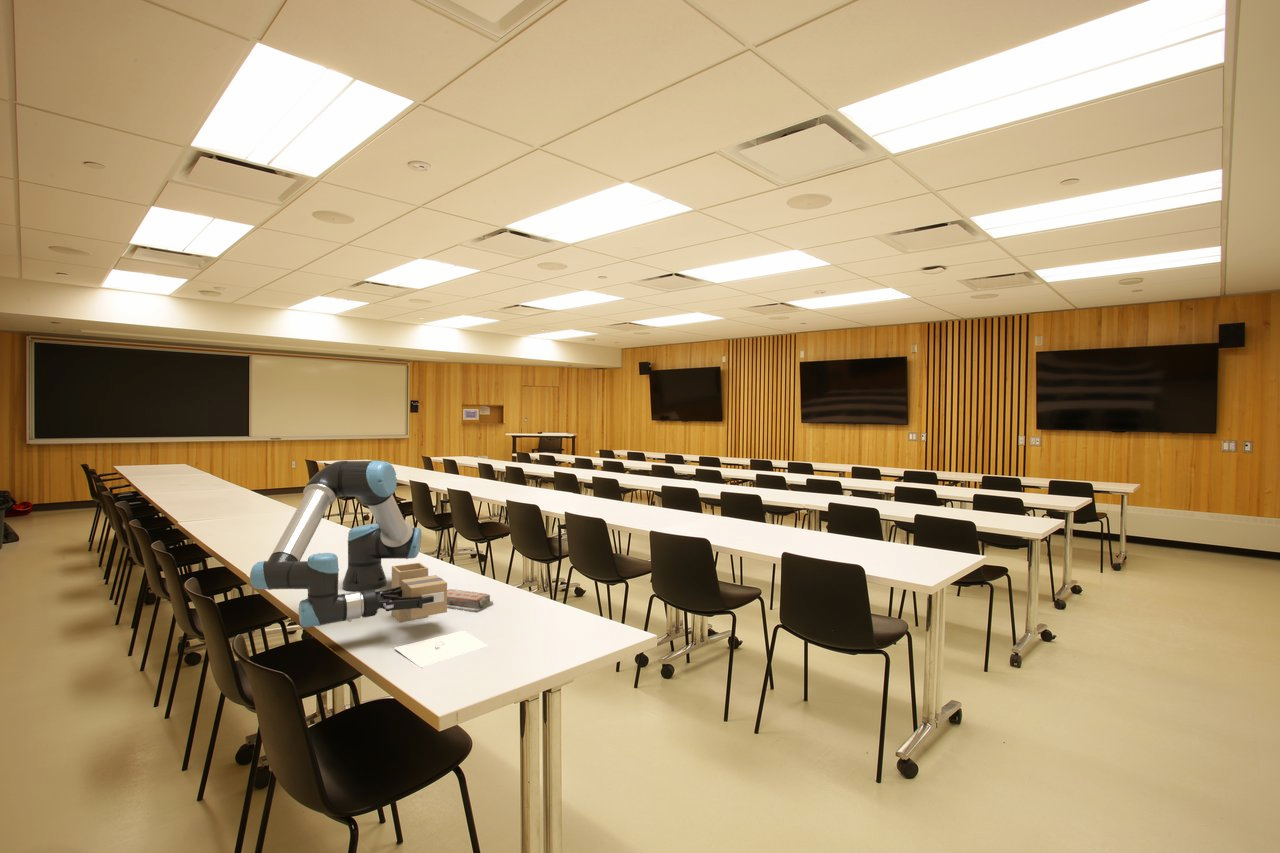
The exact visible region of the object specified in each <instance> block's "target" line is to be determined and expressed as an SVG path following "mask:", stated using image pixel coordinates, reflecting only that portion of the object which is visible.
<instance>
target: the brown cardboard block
mask: <svg viewBox="0 0 1280 853" xmlns="http://www.w3.org/2000/svg"><path fill="white" fill-rule="evenodd" d="M401 589H402V597H421V595H427V594H433V593H439V592H444V601H442V602H437V603H431V604H425V605H422V608H421V609H420V608H413V609H401V610H402V611H404V612H405V613H406V614H407V615H408V616H409V617H410V618H411V619H413V618H418V617H424V616H428V617H429V616H433V615H439V614H445V613H447V612H448V608H447V590H448V582H447V581H445V579H443V578H442V577H440V576H438V575H437V574H434V575H428V576H426V577H419V578H412V579H405V580H401ZM417 603H418V602H417Z"/></svg>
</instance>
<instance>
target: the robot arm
mask: <svg viewBox="0 0 1280 853" xmlns="http://www.w3.org/2000/svg"><path fill="white" fill-rule="evenodd" d="M397 478H398V477H397V471H396V470H395V468H394V466H393V465H392V464H391V463H390V462H387V461H383V460H338V461H335V462H332V463H330V464H328V465H327V466H325V467H323V468H322V469H320V470H319V471H318V472H316V473H315V474H314V475H313V476H312V477H311V478H310V480H309V481H308V482H307V484H306V485H305V487H304V489H303V491H302V495H303V498H302V499H301V501H300V503H299V505H298V506H297V508H296V509H295V512H294V514H293V515H292V518H291V519H290V521H289V523H288V525H286V528H285V530H284V532H283V533H282V535H281V537H280V538H279V540H278V542H277V544H276V546H275V548H274V549H273V551H272V553H271V554H270V556H269V558H268V560H263V561H257V562H256V563H255V564H253V566H252V568H251V570H250V574H249V580H250V582H249V583H250V584H251V586H252V587H253V588H254V589H256V590H258V589H259V590H268V591H270V590H307V598H305V599H302V600H300V601H299V605H298V620H299V624H300V626H301V627H303V628H312V627H321V626H323V625H324V626H325V625H329V624H330V625H331V624H335V623H339V622H340V623H341V622H345V621H346V622H347V621H348V622H352V620H357V619H360V618H361V617H362V618H370V617H375V616H376V615H377V614H378V609H383V610H385V612H392V610H401V609H413V608H420V609H421V608H422V605H425V604H431V603H437V602H442V601H444V592H439V593H433V594H427V595H421V597H402V589H401V586H400V587H396V588H392V587H391V588H388V589H384V590H379V591H376V590H377V589H380V588H382V587H385V586H386V584H387V577H386V573H385V571H384V569H383V565H382V559H384V560H385V559H387V560H388V559H390V560H392V559H394V560H395V559H396V560H397V559H405V560H408V559H415V558H417V556H418V555H419V553H420V550H421V544H422V537H423V536H422V533H423V532H422V529H421V528H420V527H413V526H412V524H411V523H410V522H409V521H407V520H406V519H405V518H404V517H403V514H402V512H401V510H400V508H399V505H398V504H397V501H396V499H395V497H394V493H395V492H396V490H397V489H396V488H397V485H398V484H397V483H398V479H397ZM339 497H357V499H358V500H359V502H360V503H361V504H362V505H364V506H367V507H368V509H369V510H370V512H371V514H372V516H373V518H374V520H375V522H376V523H368V524H364V525H359V526H354V527H352V528H350V529H349V530H348V535H347V570H346V572H345V575H344V578H343V581H342V589H343V590H344V591H349V592H347V593H341V594H339V571H340V568H339V558H338V556H337V554H335V553H333V552H332V553H331V552H323V553H320V552H318V553H314V554H311V555H309V557H308V558H307V561H306V560H305V561H303V560H302V558H303V556H304V554H305V553H306V550H307V547H308V546H309V544H310V543H311V541H312V538H313V536H314V534H315V532H316V530H317V529H318V527H319V525H320V523H321V521H322V519H323V518H324V515H325V513H326V511H327V509H328V507H329V506H331V505H333V504H334V503H335V501H336V499H337V498H339ZM417 602H418V603H417Z"/></svg>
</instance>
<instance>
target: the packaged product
mask: <svg viewBox="0 0 1280 853" xmlns="http://www.w3.org/2000/svg"><path fill="white" fill-rule="evenodd" d="M493 601H494V600H491V595H490V594H489V593H481V592H475V591H468V590H462V589H461V590H459V589H452V588H451V589H450V588H449V589H447V609H449V610H456V609H457V610H456V611H463V610H464V611H465V612H471V613H479V612H481V611H483V610H485V609H487V608H489V607H492V606H494V602H493Z"/></svg>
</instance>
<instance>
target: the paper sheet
mask: <svg viewBox="0 0 1280 853" xmlns="http://www.w3.org/2000/svg"><path fill="white" fill-rule="evenodd" d="M488 646H489V645H488V644H486V643H485V642H483V641H482V640H480V639H478V638H477V637H475V636H474V635H472V634H471V633H469V632H467V631H465V630H460V631H456V632H452V633H449V634H444V635H440V636H437V637H432V638H429V639H428V638H427V639H424V640H419V641H417V642H416V641H415V642H412V643H408V644H404V645H400V646H396V647H394V650H396V651H397V652H399V653H400V654H401V655H403V656H404V657H406V658H407V659H408V660H410V661H411V662H412V663H413V664H415V665H416V666H418V667H419V668H424V667H425V666H426V667H427V666H430V665H432V664H436V663H438V662H441V661H445V660H448V659H452V658H455V657H457V656H461V655H464V654H467V653H469V652H472V651H476V650H479V649H481V648H485V647H488Z"/></svg>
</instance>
